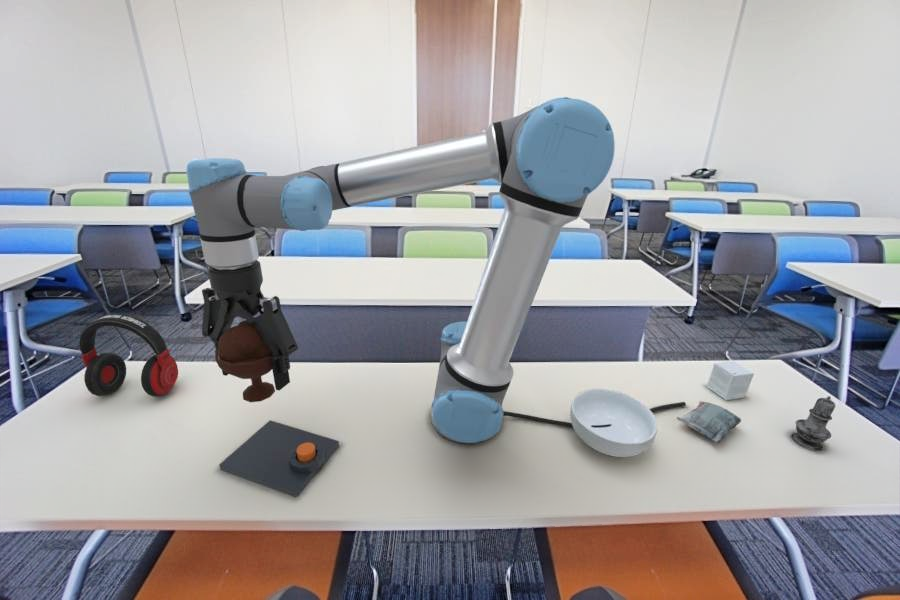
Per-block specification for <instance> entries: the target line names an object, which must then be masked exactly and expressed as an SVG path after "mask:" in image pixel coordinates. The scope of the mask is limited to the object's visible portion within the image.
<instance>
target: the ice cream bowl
mask: <svg viewBox="0 0 900 600" xmlns="http://www.w3.org/2000/svg"><path fill="white" fill-rule="evenodd" d="M278 349H280V348H278ZM214 355H215V357H214V358H215V362H216V364H217V367H219V369H220V370H221V371H222V370H223V371H224V372H225V373H228V375H230V376H233V377H235V378H238V379H242V380H250V381H251V384H250V385H248V386H247V387H246V388H245V389H244V390H243V391H242V400H244V401H245V402H249V403H257V402H258V403H260V402H263V401H265V400H266V399H270V398H271V397H272V396H273V395H274V393H275V392H276V388H275V385H274V384H273V383H270V382H268V381H263V379H262V377H263V376H265V375H267V374H269V373H270V372H271V371H273V370H272V364H271V359H270V357H272V356H273V353H272V352H271V350H270V349H269V347H268V346H267V344H266V343H265V342H264V340H263V339H262V337H261V336H260V334H259V333H258V331H257V330H256V329H255V327H254V326H253V325H250V324H249V323H248V322H247V320H246V319H244V320H241V321H240V322H239V323H238V324H237V325H234V326H231V328H229V329H228V330H227V331H226V332H224V333H223V334H222V336H221V337H220V339H219V342H218V349H217V350H216V349H215V350H214Z"/></svg>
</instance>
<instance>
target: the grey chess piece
mask: <svg viewBox="0 0 900 600" xmlns="http://www.w3.org/2000/svg"><path fill="white" fill-rule="evenodd" d="M831 399H832V398H831V396H830V395H829V396H826V397H819V398H817V399H816V402H815V404H814V405H813V407H812V408H809V410H808V412H809V414H808V416H807V418H806V419H802V418H801V419H797V420H796V421H795V432H792V433H791V435H790V437H791V439H792V440H793V442H795V443H796V444H797V445H799V446H801V447H802V448H805V449H806V450H810V451H817V452H818V451H819V452H820V451H823V448H824V447H823V446H824V445H823V444H822V443H824V442H827V441H828V440H829V439H831V438H832V433H831V432H830V430H828V428H827V425H828V423H829V421H832V420H833V417H832V414H833V412H834V410H835V409H836V403H835V402H834V401H833V400H831Z"/></svg>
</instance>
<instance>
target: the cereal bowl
mask: <svg viewBox="0 0 900 600" xmlns="http://www.w3.org/2000/svg"><path fill="white" fill-rule="evenodd" d="M649 409H650V408H649V407H648V406H646V404H645V403H643V402H641V401H640V400H638V399H637V398H635V397H633V396H631V395H629V394H627V393H623V392H621V391H618V390H614V389H608V388H589V389H585V390H582V391H581V392H579V393H577V394H576V395H575V396H574V397H573V399H572V401H571V404H570V411H569V413H570V415H569V416H570V423H572V425H573V430H574V432H575V433H576V435H577V436H578V437H579V438H580V440H582V441H583V443H585V444H586V445H587V446H589V447H590V448H592V449H593V450H595V451H597V452H599V453H601V454H604V455H607V456H611V457H617V458H630V457H635V456H638V455H640V454H642V453H644V452H646V451H647V450H648V449H649V448H650V447H651V446H652V444H653V443H654V441H655V438H656V436H657V434H658V433H657V432H658V426H659V425H658V421H657V418H656V416H655V415H654V412H653V413H652V412H651V411H650V410H649ZM607 424H611V426H610V427H602V428H594V427H591V426H592V425H607Z"/></svg>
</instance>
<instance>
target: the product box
mask: <svg viewBox="0 0 900 600" xmlns="http://www.w3.org/2000/svg"><path fill="white" fill-rule="evenodd" d="M754 375H755V373H754V372H753V371H751V370H750V369H748V368H746V367H745V366H743V365H741V364H739V363H738V362H737V361H735V360H727V361H720V362H714V363H713V367H712V369H711V372H710V376H709V379H708V382H707V385H706V387H707V388H708V389H709V390H711V391H712V392H714V393H715V394H717V396H719V397H721V398H722V399H723V400H725V401H730V400H731V401H732V400H737V399H743V398H746V396H747V393H748V391H749V388H750V385H751V382H752V380H753V377H754ZM710 385H711V386H712V387H711V386H710ZM714 388H715V389H716V390H715V389H714ZM722 394H723V395H722ZM741 395H742V396H741Z"/></svg>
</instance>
